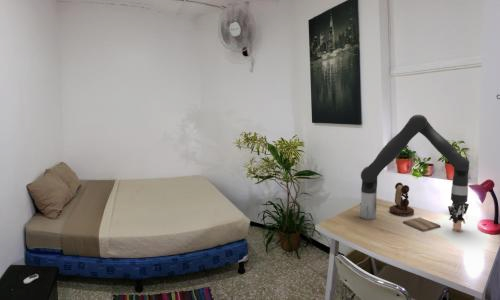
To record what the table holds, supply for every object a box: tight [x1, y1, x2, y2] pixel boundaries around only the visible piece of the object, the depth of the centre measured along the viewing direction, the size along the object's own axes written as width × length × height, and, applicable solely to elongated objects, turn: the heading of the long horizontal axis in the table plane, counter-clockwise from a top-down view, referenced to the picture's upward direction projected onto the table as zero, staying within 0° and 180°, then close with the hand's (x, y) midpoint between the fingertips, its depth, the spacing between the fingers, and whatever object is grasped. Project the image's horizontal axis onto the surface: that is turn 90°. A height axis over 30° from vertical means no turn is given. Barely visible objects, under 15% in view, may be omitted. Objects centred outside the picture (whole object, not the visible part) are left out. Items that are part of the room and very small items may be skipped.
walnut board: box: [402, 216, 441, 233], centre depth 178 cm, size 14×14×1 cm
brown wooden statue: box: [388, 182, 415, 217], centre depth 197 cm, size 15×15×20 cm
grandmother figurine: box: [448, 210, 466, 233], centre depth 168 cm, size 8×4×13 cm, turn 59°
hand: (457, 221), depth 168 cm, fingers open, 3 cm apart
